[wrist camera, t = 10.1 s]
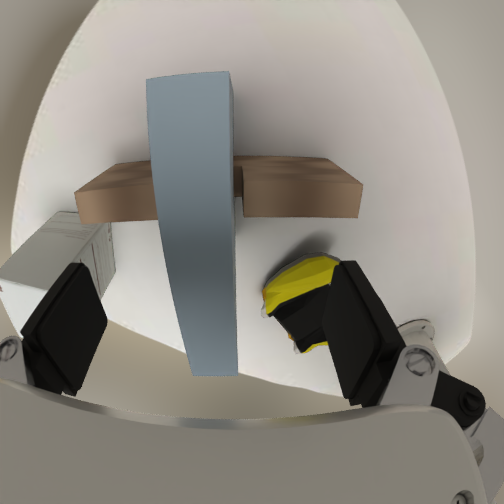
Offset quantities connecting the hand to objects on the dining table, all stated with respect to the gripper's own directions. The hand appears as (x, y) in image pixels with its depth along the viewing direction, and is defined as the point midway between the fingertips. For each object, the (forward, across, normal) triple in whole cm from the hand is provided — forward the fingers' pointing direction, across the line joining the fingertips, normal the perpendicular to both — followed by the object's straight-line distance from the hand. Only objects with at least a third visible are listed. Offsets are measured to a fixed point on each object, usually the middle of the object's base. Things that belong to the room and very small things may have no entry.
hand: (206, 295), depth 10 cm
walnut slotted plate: (+17, +1, -1) cm, 17 cm away
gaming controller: (+18, -10, +15) cm, 25 cm away
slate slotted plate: (+17, +1, -1) cm, 17 cm away
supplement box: (+17, +16, +6) cm, 24 cm away
